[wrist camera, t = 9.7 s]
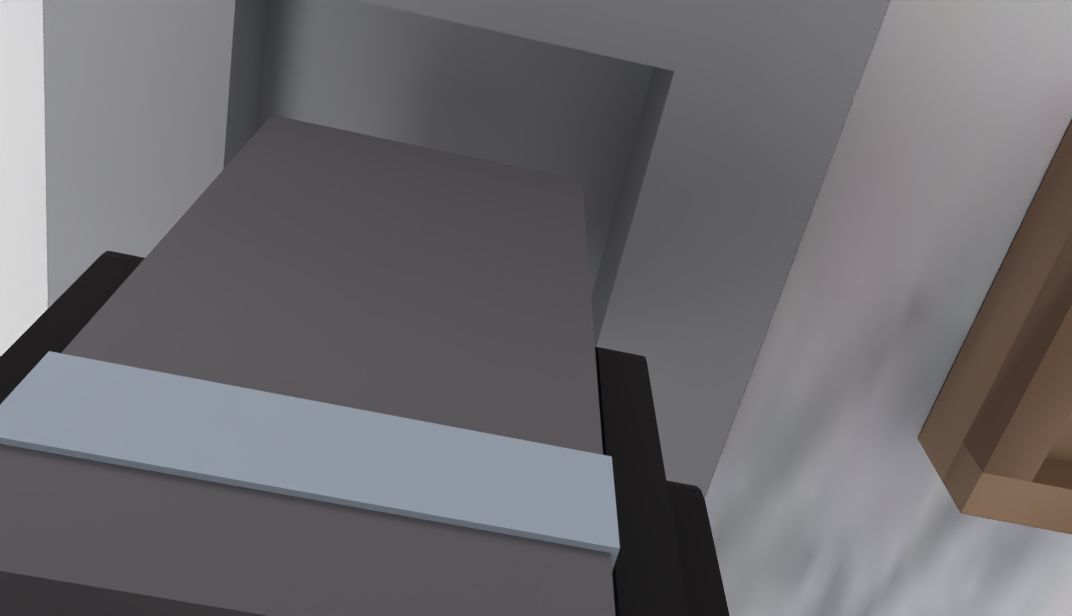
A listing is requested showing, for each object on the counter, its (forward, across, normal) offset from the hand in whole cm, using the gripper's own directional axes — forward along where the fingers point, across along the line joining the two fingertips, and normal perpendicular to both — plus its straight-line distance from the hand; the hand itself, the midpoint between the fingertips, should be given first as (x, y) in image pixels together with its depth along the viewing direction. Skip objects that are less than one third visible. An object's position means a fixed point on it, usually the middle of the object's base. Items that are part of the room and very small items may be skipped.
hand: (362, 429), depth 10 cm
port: (+9, 0, 0) cm, 9 cm away
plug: (+3, 0, 0) cm, 3 cm away
